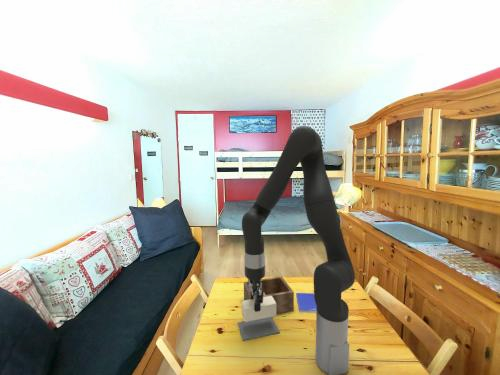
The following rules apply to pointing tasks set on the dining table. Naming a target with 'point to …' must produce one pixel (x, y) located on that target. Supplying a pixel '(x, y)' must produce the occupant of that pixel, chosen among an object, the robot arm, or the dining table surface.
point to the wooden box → (275, 293)
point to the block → (266, 310)
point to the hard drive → (306, 302)
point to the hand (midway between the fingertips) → (255, 305)
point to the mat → (257, 328)
